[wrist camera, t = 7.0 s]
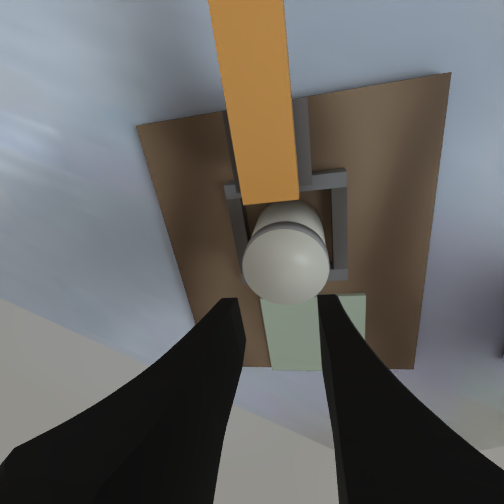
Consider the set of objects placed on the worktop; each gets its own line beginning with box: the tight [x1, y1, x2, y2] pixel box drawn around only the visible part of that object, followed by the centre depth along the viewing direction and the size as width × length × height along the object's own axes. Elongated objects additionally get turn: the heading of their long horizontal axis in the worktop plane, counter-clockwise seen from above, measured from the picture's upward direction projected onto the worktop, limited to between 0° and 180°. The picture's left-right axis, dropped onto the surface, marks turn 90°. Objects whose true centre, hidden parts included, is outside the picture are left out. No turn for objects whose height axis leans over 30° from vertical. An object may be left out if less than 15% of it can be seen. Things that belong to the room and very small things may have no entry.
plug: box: [242, 198, 330, 305], centre depth 16 cm, size 4×4×5 cm
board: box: [136, 72, 451, 369], centre depth 17 cm, size 16×19×6 cm
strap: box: [208, 0, 299, 205], centre depth 8 cm, size 2×12×1 cm, turn 8°
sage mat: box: [260, 293, 366, 371], centre depth 21 cm, size 7×7×1 cm
